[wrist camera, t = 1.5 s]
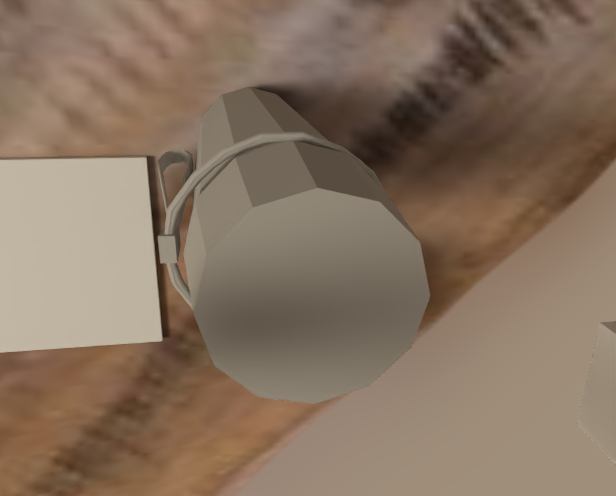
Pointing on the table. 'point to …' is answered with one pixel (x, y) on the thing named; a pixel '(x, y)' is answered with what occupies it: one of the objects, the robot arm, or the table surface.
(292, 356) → the water bottle
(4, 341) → the felt mat
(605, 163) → the table surface
